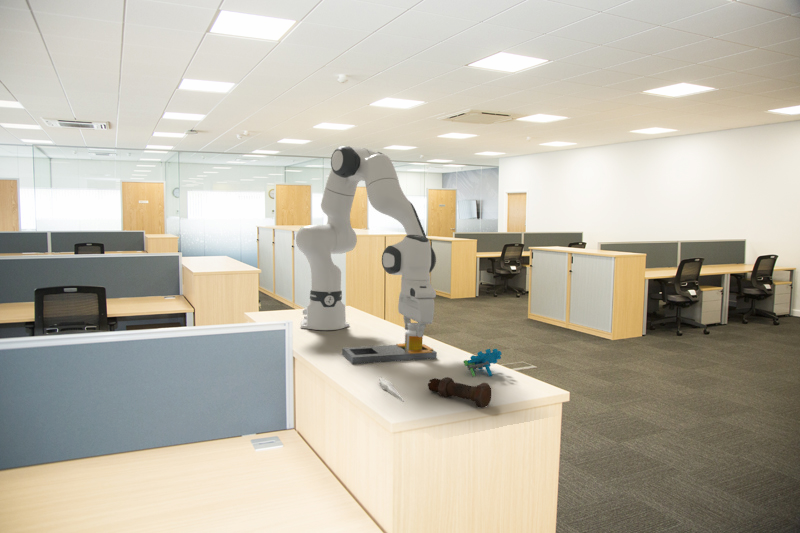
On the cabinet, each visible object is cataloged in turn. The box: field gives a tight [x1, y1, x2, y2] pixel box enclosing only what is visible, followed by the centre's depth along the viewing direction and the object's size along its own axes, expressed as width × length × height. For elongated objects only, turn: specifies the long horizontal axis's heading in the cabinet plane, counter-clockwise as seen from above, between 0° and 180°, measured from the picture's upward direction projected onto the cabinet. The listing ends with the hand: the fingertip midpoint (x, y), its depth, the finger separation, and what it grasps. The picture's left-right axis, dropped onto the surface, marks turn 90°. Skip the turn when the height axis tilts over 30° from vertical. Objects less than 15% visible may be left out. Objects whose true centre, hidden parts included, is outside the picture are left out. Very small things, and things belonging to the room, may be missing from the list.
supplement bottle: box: [404, 322, 424, 351], centre depth 159 cm, size 5×5×10 cm
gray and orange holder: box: [341, 342, 438, 365], centre depth 157 cm, size 12×26×2 cm, turn 110°
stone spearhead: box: [378, 376, 404, 402], centre depth 124 cm, size 15×3×2 cm, turn 23°
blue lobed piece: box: [463, 348, 502, 377], centre depth 141 cm, size 11×6×10 cm
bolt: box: [427, 376, 492, 409], centre depth 120 cm, size 6×5×15 cm
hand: (413, 333), depth 159 cm, fingers open, 8 cm apart
